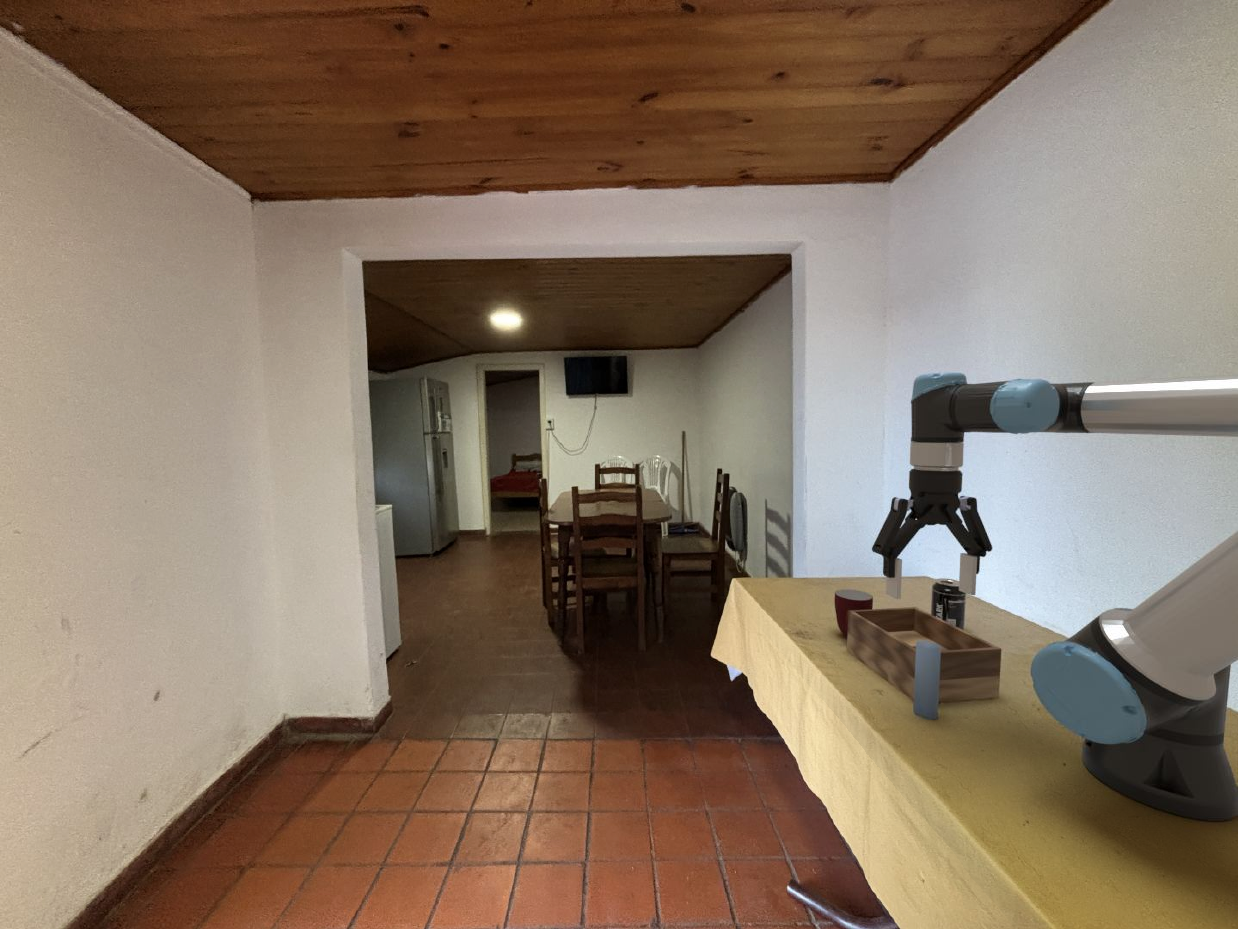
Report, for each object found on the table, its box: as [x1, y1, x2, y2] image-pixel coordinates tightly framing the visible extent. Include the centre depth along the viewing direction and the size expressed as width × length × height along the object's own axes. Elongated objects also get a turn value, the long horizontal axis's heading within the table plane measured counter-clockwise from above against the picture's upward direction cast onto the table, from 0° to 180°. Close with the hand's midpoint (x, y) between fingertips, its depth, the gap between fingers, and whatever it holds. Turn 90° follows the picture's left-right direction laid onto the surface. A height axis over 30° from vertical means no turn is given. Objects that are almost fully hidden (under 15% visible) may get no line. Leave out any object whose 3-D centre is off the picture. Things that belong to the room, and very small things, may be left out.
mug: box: [833, 588, 874, 639], centre depth 121 cm, size 11×8×10 cm
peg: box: [913, 641, 941, 721], centre depth 89 cm, size 4×4×12 cm
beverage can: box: [930, 578, 967, 631], centre depth 125 cm, size 7×7×12 cm
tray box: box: [846, 606, 1002, 703], centre depth 104 cm, size 22×16×9 cm
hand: (930, 594), depth 88 cm, fingers open, 13 cm apart
